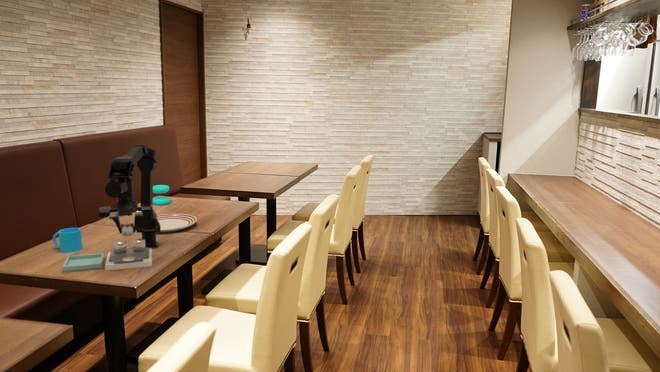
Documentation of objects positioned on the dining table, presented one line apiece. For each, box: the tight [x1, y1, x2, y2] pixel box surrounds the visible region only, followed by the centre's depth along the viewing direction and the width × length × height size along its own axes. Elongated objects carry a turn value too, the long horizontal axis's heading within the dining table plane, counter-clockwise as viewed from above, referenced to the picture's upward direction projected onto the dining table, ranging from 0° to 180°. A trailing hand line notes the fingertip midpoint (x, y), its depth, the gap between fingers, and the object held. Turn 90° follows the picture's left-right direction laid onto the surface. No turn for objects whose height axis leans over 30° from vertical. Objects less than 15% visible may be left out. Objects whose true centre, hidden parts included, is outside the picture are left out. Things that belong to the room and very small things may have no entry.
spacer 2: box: [120, 221, 135, 237], centre depth 200 cm, size 4×4×4 cm
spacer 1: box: [113, 239, 127, 254], centre depth 206 cm, size 4×4×4 cm
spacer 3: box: [132, 238, 146, 252], centre depth 208 cm, size 4×4×4 cm
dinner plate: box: [156, 213, 198, 233], centre depth 253 cm, size 28×27×3 cm
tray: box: [61, 252, 106, 273], centre depth 199 cm, size 13×13×2 cm
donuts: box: [153, 184, 171, 206], centre depth 301 cm, size 10×10×10 cm
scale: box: [104, 247, 153, 272], centre depth 203 cm, size 17×16×4 cm
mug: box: [52, 227, 83, 254], centre depth 218 cm, size 12×8×8 cm
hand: (127, 232), depth 200 cm, fingers closed on spacer 2, 4 cm apart
